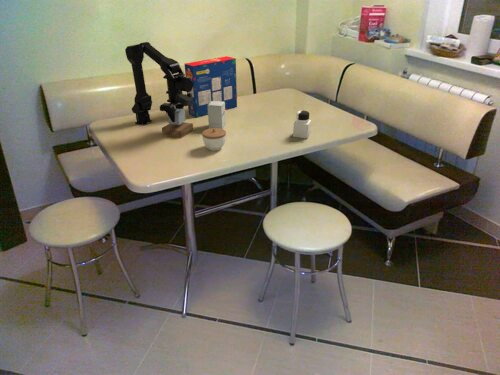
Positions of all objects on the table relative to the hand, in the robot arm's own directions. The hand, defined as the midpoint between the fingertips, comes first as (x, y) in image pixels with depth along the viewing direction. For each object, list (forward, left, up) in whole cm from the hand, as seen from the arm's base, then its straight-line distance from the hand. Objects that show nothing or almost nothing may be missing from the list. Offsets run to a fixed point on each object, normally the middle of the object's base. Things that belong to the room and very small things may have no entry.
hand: (176, 119), depth 204 cm
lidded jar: (+26, -11, -7) cm, 29 cm away
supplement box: (+15, +14, -7) cm, 22 cm away
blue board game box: (+1, +37, -7) cm, 37 cm away
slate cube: (0, 0, -1) cm, 1 cm away
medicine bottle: (+59, +18, -7) cm, 62 cm away
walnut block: (0, 0, -7) cm, 7 cm away
